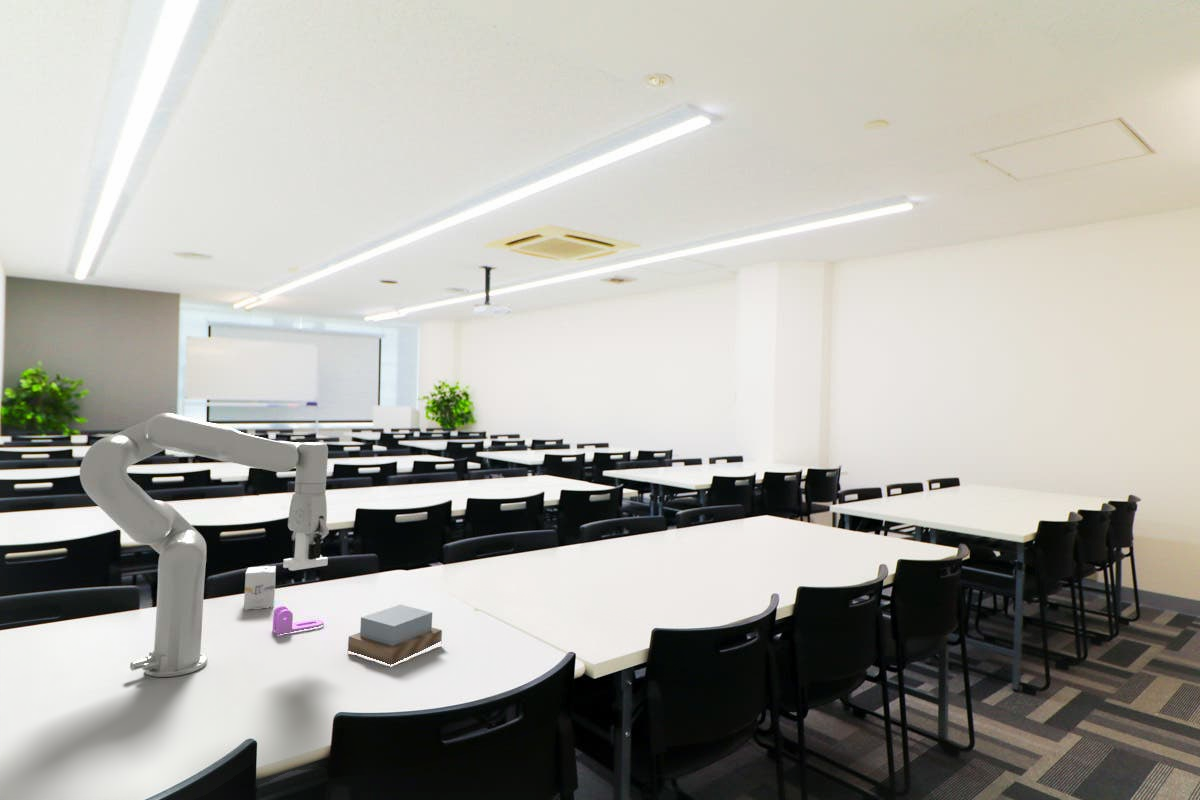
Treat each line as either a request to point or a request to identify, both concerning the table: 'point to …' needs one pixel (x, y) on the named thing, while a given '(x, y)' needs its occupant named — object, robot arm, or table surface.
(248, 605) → the ink box
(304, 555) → the white t-shaped block
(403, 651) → the bottom block
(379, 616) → the top block
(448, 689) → the table surface
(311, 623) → the bracket
